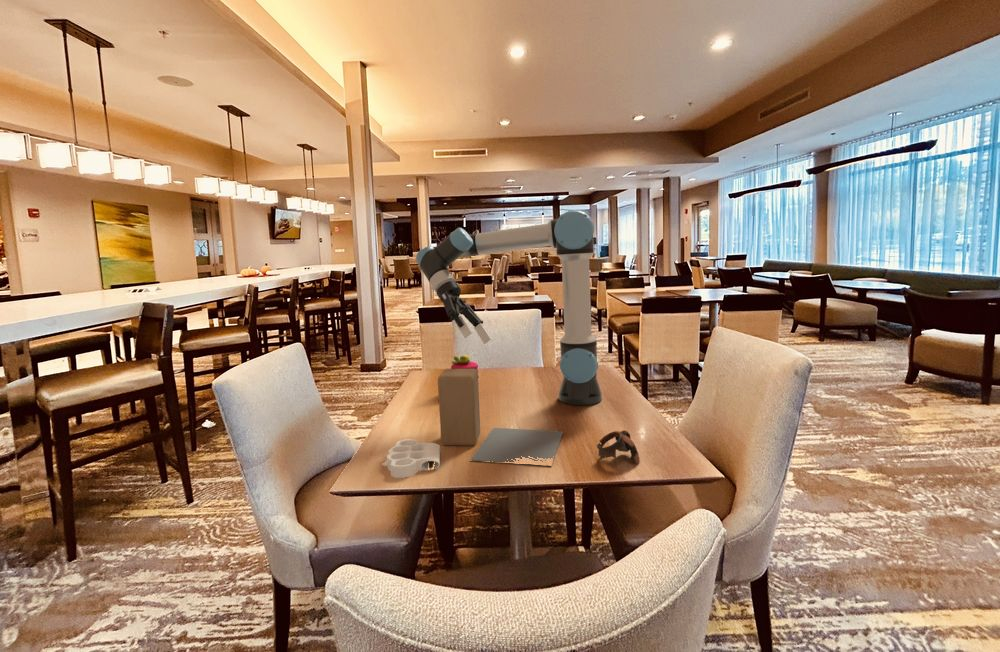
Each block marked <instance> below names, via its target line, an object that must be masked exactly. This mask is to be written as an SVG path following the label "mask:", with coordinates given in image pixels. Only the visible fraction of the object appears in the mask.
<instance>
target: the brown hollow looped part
mask: <svg viewBox="0 0 1000 652" xmlns="http://www.w3.org/2000/svg"><path fill="white" fill-rule="evenodd" d="M613 439H615V442H614V443H613V444H611V445H608V446H605V447H604V445H605V444H606V443H607V442H609V441H610V440H613ZM596 448H597V449H598V457H600V458H601V457H602V458H601V459H605V458H611V457H612V458H614V459H617V451H618V452H624V453H625V452H626V453H628V452H630V456H631V457H633V460H634V461H635V462H634V463H635V465H636V466H638V465H639V464H640V456H639V452H638V448H637V447H636V444H635V442H634V441H633V440H632V438H631V434H630V432H628V431H627V430H625V429H624V430H621V431H620V430H618V431H611V432H609V433H607V434H605V435H603V437H602V438H600V440H599V443H598V444H597V445H596Z"/></svg>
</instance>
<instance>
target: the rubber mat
mask: <svg viewBox="0 0 1000 652" xmlns="http://www.w3.org/2000/svg"><path fill="white" fill-rule="evenodd" d="M562 434H564V431H562V430H543V429H541V430H540V429H524V428H522V429H521V428H505V427H504V428H503V427H493V428H491V430H490V432H489V433H488V435H487V436H486V437H485V439H484V441H483V442H482V443H481V444H480V446H479V447H478V448H477V450H476V452H474V454H473V456H471V458H470V460H472V461H471V462H473V461H490V462H492V461H493V462H505V461H506V462H508V461H509V462H514V461H513V460H515V461H516V459H515V458H520V459H522V457H525V458H529V457H528V456H530V457H533V458H535V459H537V457H538V458H543V459H545V458H546V459H548V458H550V459H551V458H554V457H556V455H557V452H558V449H559V447H560V443H561V441H562V438H561V437H563V435H562ZM557 448H558V449H557ZM556 451H557V452H556ZM555 454H556V455H555ZM521 456H522V457H521ZM553 456H554V457H553ZM507 459H508V460H507ZM511 459H513V460H511ZM529 459H532V458H529ZM535 459H532V460H534V461H538V460H539V459H538V460H535ZM554 459H555V458H554ZM518 461H519V460H518ZM540 461H542V460H540ZM545 461H546V460H545ZM542 462H543V461H542Z"/></svg>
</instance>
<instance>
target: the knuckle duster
mask: <svg viewBox="0 0 1000 652" xmlns="http://www.w3.org/2000/svg"><path fill="white" fill-rule="evenodd" d="M440 446H441V445H439V444H438V443H436V442H419V441H418V440H417V439H408V438H407V439H403V440H402V439H401V440H399V441H397V442H395V445H394V446H392V447H390V449H388V451H387V453H385V454H384V455H383V456H384V457H385V458H386V460H385V461H384V462H382V463H381V464H380V465H382V466H385V467H387V470H388V471H390V476H391V477H392V476H393V477H392V478H394V477H396V478H395V479H406V478H405V477H407V478H410V477H413V476H414V475H416V473H418V471H419V472H422V471H421V470H424V471H428V461H429V462H433V461H435V464H434V465H435V466H434V469H435V470H437V469H439V467H440V466H441V465H440V462H441V461H440V458H441V455H440V454H441V453H440V452H441V447H440ZM412 475H413V476H412Z"/></svg>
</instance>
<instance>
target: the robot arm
mask: <svg viewBox="0 0 1000 652" xmlns="http://www.w3.org/2000/svg"><path fill="white" fill-rule="evenodd" d="M594 233H595V225H594V222H593V219H592V218H591V216H589V214H587V213H586V212H585V211H582V210H575V209H573V210H567V211H566V212H564V213H562V214H561V215H559V217H558V218H555V219H550V220H549V221H548V223H542V224H534V225H528V226H521V227H514V228H513V227H512V228H507V229H500V230H498V229H497V230H493V231H487V232H486V231H485V232H479V233H470V234H469V233H468V232H467V231H466V230H465V229H464V228H462V227H457V228H456V229H455V230H453V231H452V232H450V234H449V235H447V236H446V237H445V238H444V239H443V240H442V241H441V242H440V243H439V244H438V245H437V246H435V247H433V246H425V247H423V248H421V249H420V250H419V251H418V252H417V253H416V256H415V260H416V263H417V265H418V266H419V269H420V270H421V271H422V273H423V275H424V277H425V278H426V280H427V281H428V283H429V284H430V286H431V290H434V292H435V293H436V295H437V297H438V299H439V300H440V302H441V303H442V304H443V307H444V310H445V311H446V312H445V313H446V315H447V317H448V318H449V321H450V322H453V321H454V324H455V325H456V327H457V328H458V330H459V332H460V333H461V334H462V336H463V338H465V339H467V338H468V337H469V336H470V335H471V334H473V331H472V330H471V328H470V326H469V325H468V323H467V322H466V320H467V321H468V322H469V323H470V324H471V325H472V326H473V327H474V328H473V329H474V330H475V332H476V334H478V336H479V338H480V339H481V341H482V343H483V344H484V345H486V344H487V343H488V342H489V341H491V340H492V337H491V336H490V335H489V333H488V331H487V330H486V328H485V327H484V325H483V324H484V320H482V319H481V318H480V317H479V316H478V314H477V313H476V312H475V311H474V309H472V307H471V306H470V305H469V304H468V301H466V299H465V300H464V299H463V298H461V296H460V295H461V293H462V288H461V287H460V285H459V284H458V282H457V281H456V280H455V277H454V276H453V275H452V273H451V272H450V270H449V269H448V268H449V266H451V265H452V264H454V262H455V261H457V260H458V259H459V258H469V257H474V256H481V255H490V254H497V253H503V252H504V253H505V252H506V253H507V252H512V251H513V252H514V251H521V250H530V249H534V248H535V249H536V248H543V247H544V248H545V247H551V248H552V249H555V250H556V256H557V257H558V258H559V259H560V261H561V274H562V276H561V277H562V298H563V299H562V300H563V301H562V302H563V326H564V335H563V336H562V337H561V339H560V340H559V346H560V347H559V349H560V361H559V369H560V371H561V373H562V376H563V378H562V381H561V385H560V388H559V391H558V400H559V401H560V402H561V403H564V404H568V405H574V406H575V405H576V406H588V405H589V406H590V405H595V404H598V403H600V402H601V401H602V400H603V394H602V390H601V388H600V383H599V381H598V378H597V373H598V372H597V371H598V369H599V362H598V349H597V348H598V342H597V337H596V336H595V335H593V334H592V312H591V311H592V308H591V280H590V279H591V278H590V277H591V275H590V271H591V270H590V258H592V257H593V255H594V253H595V250H594V249H595V247H594V245H595V244H594ZM463 316H464V317H463ZM464 318H466V320H465V319H464Z"/></svg>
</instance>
